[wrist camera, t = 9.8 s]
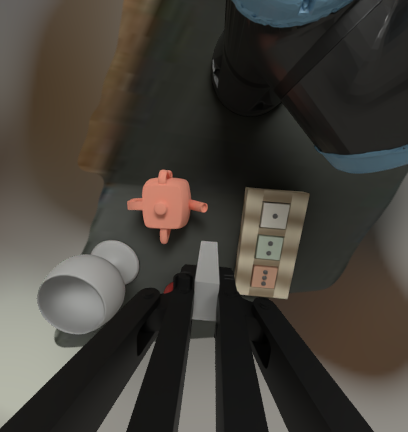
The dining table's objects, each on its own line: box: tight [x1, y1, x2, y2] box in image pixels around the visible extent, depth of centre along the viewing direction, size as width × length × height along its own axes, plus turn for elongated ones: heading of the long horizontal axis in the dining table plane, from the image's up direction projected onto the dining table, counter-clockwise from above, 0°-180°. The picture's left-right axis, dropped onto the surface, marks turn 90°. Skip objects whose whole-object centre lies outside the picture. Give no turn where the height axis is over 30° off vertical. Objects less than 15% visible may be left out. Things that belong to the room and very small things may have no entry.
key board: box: [234, 187, 310, 299], centre depth 42 cm, size 24×12×3 cm, turn 176°
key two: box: [255, 234, 284, 260], centre depth 41 cm, size 5×5×3 cm
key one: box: [259, 201, 290, 229], centre depth 39 cm, size 5×5×3 cm
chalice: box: [37, 240, 139, 334], centre depth 39 cm, size 14×14×15 cm
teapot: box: [127, 170, 208, 244], centre depth 37 cm, size 12×12×10 cm
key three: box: [250, 264, 278, 289], centre depth 43 cm, size 5×5×3 cm
